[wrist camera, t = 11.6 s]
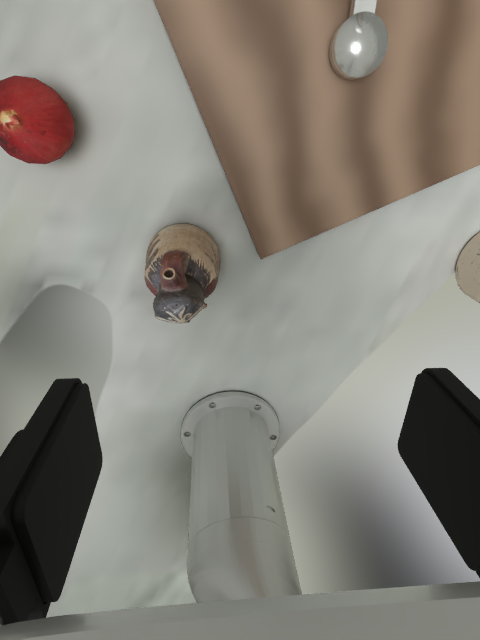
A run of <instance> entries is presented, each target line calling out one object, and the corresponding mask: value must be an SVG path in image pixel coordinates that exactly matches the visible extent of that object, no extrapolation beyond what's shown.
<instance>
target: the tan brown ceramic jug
mask: <svg viewBox="0 0 480 640" xmlns="http://www.w3.org/2000/svg"><path fill="white" fill-rule="evenodd" d="M219 270H220V254H219V250H218V247H217V244H216V243H215V241H214V240H213V238H212V237H211V236H210V235H209V234H208V233H207V232H206V231H204V230H202V229H201V228H199V227H197V226H194V225H191V224H187V223H183V224H174V225H171V226H167V227H165V228H163V229H162V230H161V231H159V232H158V233H157V234H156V235H155V236H154V237H153V239H152V240H151V242H150V245H149V247H148V250H147V256H146V267H145V281H146V285H147V287H148V288H149V289H150V291H151V292H152V293H153V294H154V295H155V296H156V297H155V299H154V303H153V308H154V311H155V317H156V318H157V319H159V320H163V321H168V322H174V323H185V322H190V320H191V319H192V318H193V317H194V316H195V315H196V314H197V313H198V312H200V311H201V310H202V309H204V308H206V307H207V304H205V303H204V299H205V298H207V297H208V296H209V295H210V294H211V293H212V292H213V291H214V289H215V287H216V284H217V282H218V275H219Z"/></svg>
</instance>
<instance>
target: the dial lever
mask: <svg viewBox="0 0 480 640" xmlns="http://www.w3.org/2000/svg"><path fill="white" fill-rule="evenodd" d="M376 3H377V0H351V6H350V13H349V18H348V19H347V20H346V21H345V22H344V23H342V24H341V25H340V26H339V27H338V29H337V30H336V31H335V33H334V35H333V37H332V39H331V43H330V48H329V57H330V62H331V65H332V68H333V69H334V71H335V72H336V73H337V74H338V75H339V76H340V77H342V78H344V79H347V80H355V79H358V78H361V77H364V76H366V75H369V74H370V73H372V72H373V71H375V70H376V69H377V68H378V67H379V65H380V64H381V62H382V61H383V59H384V57H385V54H386V51H387V47H388V33H387V29H386V26H385V24H384V22H383V21H382V19H381V18H380V17H379V16H377V15H376V14H375V9H376Z"/></svg>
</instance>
